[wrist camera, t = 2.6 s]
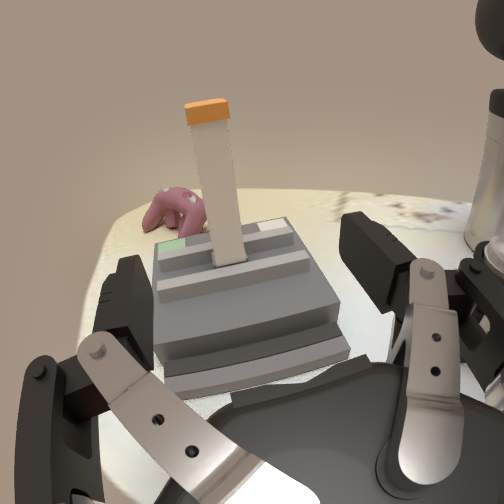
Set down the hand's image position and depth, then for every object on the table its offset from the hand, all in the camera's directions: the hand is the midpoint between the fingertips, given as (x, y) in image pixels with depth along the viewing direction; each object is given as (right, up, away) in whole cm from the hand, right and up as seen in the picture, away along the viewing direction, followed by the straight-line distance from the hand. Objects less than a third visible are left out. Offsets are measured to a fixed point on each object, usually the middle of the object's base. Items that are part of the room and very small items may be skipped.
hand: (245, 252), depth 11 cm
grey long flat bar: (+1, -9, +10) cm, 14 cm away
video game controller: (-10, +2, +28) cm, 30 cm away
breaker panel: (-1, -4, +18) cm, 18 cm away
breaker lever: (-2, -1, +16) cm, 16 cm away
